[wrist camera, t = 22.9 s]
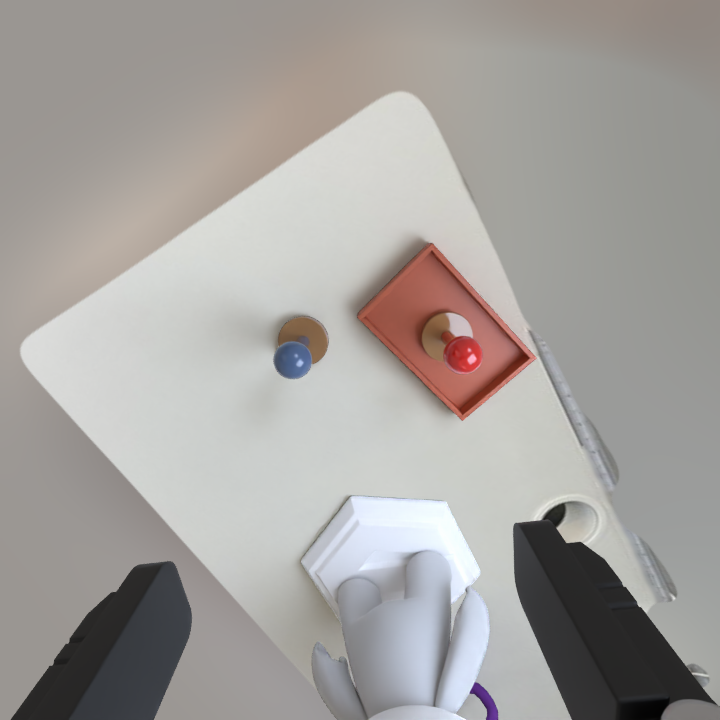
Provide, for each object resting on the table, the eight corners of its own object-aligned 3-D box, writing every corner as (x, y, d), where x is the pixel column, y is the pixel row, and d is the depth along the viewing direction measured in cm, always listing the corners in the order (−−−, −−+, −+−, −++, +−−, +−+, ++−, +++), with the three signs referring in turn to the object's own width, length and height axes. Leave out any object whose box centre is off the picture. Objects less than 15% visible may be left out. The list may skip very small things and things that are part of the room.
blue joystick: (269, 339, 42) (246, 366, 33) (302, 305, 41) (287, 323, 32) (305, 372, 43) (291, 406, 34) (338, 339, 42) (333, 366, 33)
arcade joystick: (410, 335, 41) (423, 361, 32) (447, 300, 40) (471, 316, 31) (443, 368, 42) (464, 402, 33) (480, 335, 41) (512, 360, 32)
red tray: (357, 313, 41) (357, 317, 39) (428, 242, 39) (432, 242, 37) (457, 412, 44) (462, 421, 42) (528, 352, 42) (536, 358, 40)
